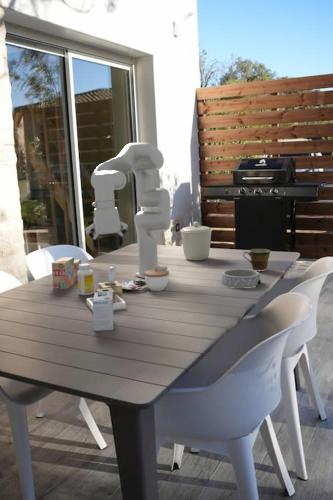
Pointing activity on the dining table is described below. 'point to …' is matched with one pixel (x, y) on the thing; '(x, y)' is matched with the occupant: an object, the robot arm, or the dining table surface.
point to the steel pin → (111, 276)
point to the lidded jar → (156, 279)
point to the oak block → (116, 288)
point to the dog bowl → (240, 278)
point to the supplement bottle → (85, 280)
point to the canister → (196, 241)
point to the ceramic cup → (259, 258)
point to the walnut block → (107, 291)
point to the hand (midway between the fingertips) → (108, 247)
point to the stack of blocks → (65, 272)
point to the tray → (116, 306)
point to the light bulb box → (103, 311)
